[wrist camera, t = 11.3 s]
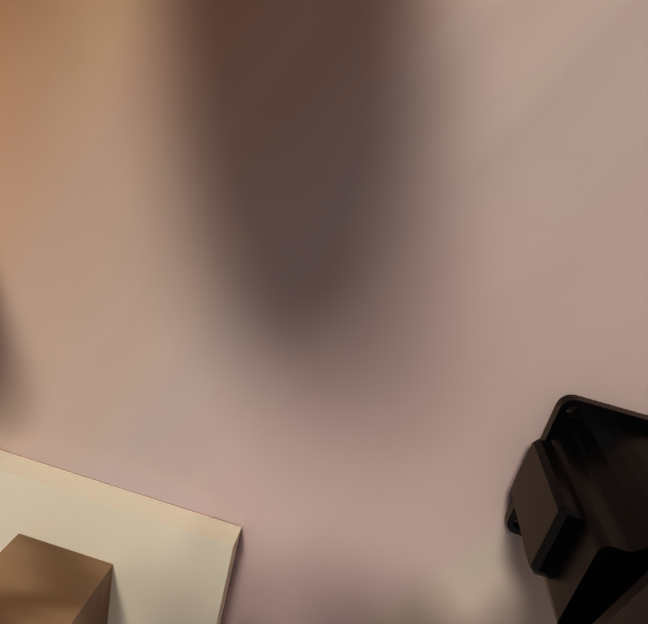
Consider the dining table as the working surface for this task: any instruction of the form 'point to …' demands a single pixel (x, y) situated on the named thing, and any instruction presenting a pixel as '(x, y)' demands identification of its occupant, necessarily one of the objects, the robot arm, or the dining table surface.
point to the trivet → (124, 541)
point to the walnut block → (52, 585)
